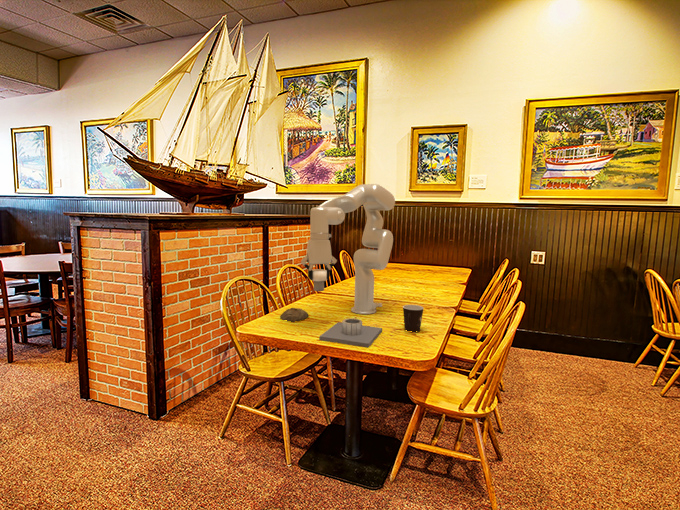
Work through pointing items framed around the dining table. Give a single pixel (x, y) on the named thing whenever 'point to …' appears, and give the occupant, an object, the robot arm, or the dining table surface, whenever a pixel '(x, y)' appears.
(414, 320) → the coffee mug
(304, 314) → the seeded bread roll
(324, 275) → the plug
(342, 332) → the square plate with socket
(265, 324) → the dining table surface
